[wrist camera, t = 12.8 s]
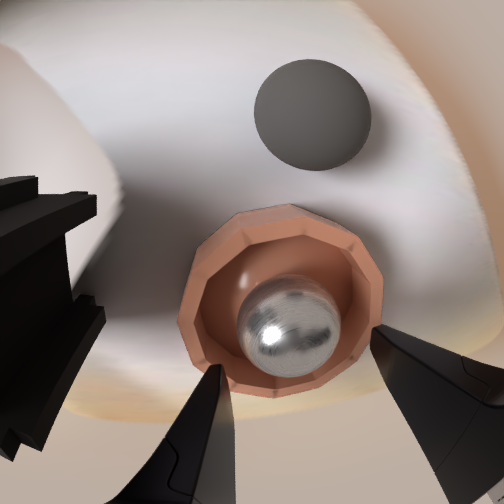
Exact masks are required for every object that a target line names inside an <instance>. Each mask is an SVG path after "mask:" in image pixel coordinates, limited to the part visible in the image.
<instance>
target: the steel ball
mask: <svg viewBox="0 0 504 504" xmlns="http://www.w3.org/2000/svg"><path fill="white" fill-rule="evenodd" d="M236 331H237V337H238V341H239V344H240V347H241V349H242V351H243V352H244V354H245V356H246V357H247V358H248V359H249V361H250V362H251V363H252V364H253V365H255V366H256V367H257V368H259V369H260V370H262V371H264V372H266V373H268V374H270V375H273V376H278V377H286V378H291V377H298V376H302V375H306V374H308V373H311V372H313V371H315V370H316V369H318V368H319V367H321V366H322V365H323V364H324V363H325V362H326V361H327V360H328V359H329V358H330V356H331V355H332V354H333V352H334V350H335V349H336V346H337V344H338V341H339V338H340V334H341V316H340V312H339V308H338V306H337V303H336V301H335V300H334V298H333V296H332V295H331V293H330V292H329V291H328V290H327V289H326V288H325V287H324V286H323V285H321V284H320V283H318V282H317V281H315V280H313V279H311V278H309V277H306V276H302V275H298V274H282V275H277V276H273V277H271V278H268V279H266V280H264V281H262V282H261V283H259V284H258V285H256V286H255V287H254V288H253V289H252V290H251V291H250V292H249V293H248V294H247V296H246V297H245V299H244V300H243V302H242V304H241V306H240V309H239V312H238V316H237V325H236Z"/></svg>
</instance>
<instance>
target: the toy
mask: <svg viewBox="0 0 504 504" xmlns="http://www.w3.org/2000/svg"><path fill="white" fill-rule="evenodd" d="M96 215H97V195H88V192H85V191H84V192H82V191H74V192H69V193H66V194H38V177H35V176H18V177H8V178H4V179H0V455H1V456H2V457H4V458H6V459H8V460H10V461H12V462H13V460H14V458H15V455H16V453H17V451H18V449H19V446H20V444H21V443H22V444H25V445H27V446H29V447H31V448H34V449H36V450H38V451H41V452H42V450H43V447H44V445H45V443H46V440H47V438H48V435H49V433H50V430H51V428H52V426H53V424H54V421H55V419H56V417H57V415H58V413H59V410H60V408H61V406H62V404H63V402H64V400H65V398H66V396H67V394H68V392H69V390H70V388H71V386H72V384H73V382H74V380H75V378H76V376H77V374H78V372H79V370H80V368H81V366H82V364H83V362H84V360H85V359H86V357H87V355H88V353H89V351H90V349H91V347H92V346H93V344H94V342H95V340H96V339H97V337H98V335H99V333H100V332H101V330H102V328H103V326H104V325H105V323H106V318H105V312H104V307H103V306H96V304H95V297H94V296H90V295H82V294H80V295H79V296H78V297H77V298H76V300H75V301H74V302H73V297H72V291H71V285H70V278H69V270H68V262H67V253H66V241H65V233H66V232H68V231H70V230H71V229H73V228H75V227H77V226H78V225H80V224H82V223H84V222H85V221H87V220H89V219H91V218H93V217H94V216H96Z"/></svg>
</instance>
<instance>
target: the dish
mask: <svg viewBox="0 0 504 504" xmlns="http://www.w3.org/2000/svg"><path fill="white" fill-rule="evenodd" d="M282 274H298V275H302V276H306V277H309V278H311V279H313V280H315V281H317V282H318V283H320V284H321V285H323V286H324V287H325V288H326V289H327V290H328V291H329V292H330V293H331V295H332V296H333V298H334V300H335V301H336V303H337V306H338V308H339V312H340V316H341V334H340V338H339V341H338V344H337V346H336V349H335V350H334V352H333V354H332V355H331V356H330V358H329V359H328V360H327V361H326V362H325V363H324V364H323V365H322V366H321V367H319V368H318V369H316V370H315V371H313V372H311V373H308V374H306V375H302V376H298V377H291V378H286V377H278V376H273V375H270V374H268V373H266V372H264V371H262V370H260V369H259V368H257V367H256V366H255V365H253V364H252V363H251V362H250V361H249V359H248V358H247V357H246V356H245V354H244V352H243V351H242V349H241V347H240V344H239V341H238V337H237V331H236V325H237V316H238V312H239V309H240V306H241V304H242V302H243V300H244V299H245V297H246V296H247V294H248V293H249V292H250V291H251V290H252V289H253V288H254V287H255V286H256V285H258V284H259V283H261V282H262V281H264V280H266V279H268V278H271V277H273V276H277V275H282ZM383 281H384V277H383V276H382V274H381V272H380V270H379V269H378V267H377V265H376V264H375V262H374V261H373V259H372V257H371V256H370V254H369V252H368V251H367V249H366V248H365V246H364V244H363V243H362V241H361V240H360V238H359V237H358V236H356V235H355V234H353V233H352V232H350V231H349V230H347V229H345V228H344V227H342V226H341V225H339V224H337V223H336V222H334V221H332V220H330V219H327V218H325V217H322V216H320V215H317V214H314V213H312V212H309V211H307V210H304V209H302V208H299V207H296V206H294V205H291V204H285V205H279V206H274V207H268V208H263V209H257V210H252V211H247V212H241V213H237V214H236V215H234V216H233V217H232V218H231V219H230V220H229V221H227V222H226V223H225V224H224V225H223V226H222V227H220V228H219V229H218V230H217V231H216V232H215V233H213V234H212V235H211V236H210V237H209V238H208V239H206V240H205V241H204V242H203V243H202V244H201V245H200V246H198V247H197V250H196V253H195V257H194V260H193V263H192V266H191V269H190V273H189V276H188V279H187V283H186V286H185V289H184V293H183V297H182V301H181V306H180V310H179V315H178V319H177V324H178V327H179V329H180V332H181V335H182V338H183V340H184V343H185V346H186V348H187V351H188V354H189V356H190V359H191V361H192V364H193V365H194V366H195V367H196V368H198V369H199V370H200V371H202V372H203V373H205V372H206V370H207V369H208V367H209V366H210V365H213V364H219V363H221V364H222V365H223V367H224V370H225V373H226V376H227V379H228V383H229V389H230V391H231V392H236V393H242V394H248V395H254V396H261V397H267V398H278V397H283V396H287V395H291V394H296V393H300V392H304V391H308V390H312V389H315V388H319V387H321V386H322V385H324V384H325V383H327V382H328V381H330V380H331V379H333V378H334V377H335V376H337V375H338V374H340V373H341V372H343V371H344V370H345V369H347V368H348V367H350V366H351V365H352V364H354V363H355V362H356V361H357V360H358V359H359V357H360V356H361V354H362V353H363V351H364V350H365V348H366V346H367V345H368V343H369V341H370V339H371V330H372V328H373V327H375V326H378V325H380V323H381V316H382V302H383Z"/></svg>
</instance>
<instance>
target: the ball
mask: <svg viewBox="0 0 504 504" xmlns="http://www.w3.org/2000/svg"><path fill="white" fill-rule="evenodd" d="M254 118H255V124H256V128H257V131H258V133H259V136H260V138H261V139H262V141H263V143H264V144H265V146H266V147H267V148H268V149H269V150H270V152H271V153H272V154H273V155H275V156H276V157H277V158H278V159H280V160H281V161H283V162H285V163H287V164H289V165H291V166H293V167H296V168H299V169H303V170H310V171H321V170H328V169H332V168H335V167H338V166H340V165H342V164H344V163H346V162H348V161H349V160H350V159H352V158H353V157H354V156H355V155H356V154H357V153H358V152H359V151H360V149H361V148H362V147H363V145H364V143H365V142H366V139H367V137H368V134H369V130H370V126H371V110H370V105H369V101H368V99H367V96H366V94H365V92H364V90H363V89H362V87H361V85H360V84H359V83H358V82H357V80H356V79H355V78H354V77H353V76H352V75H351V74H349V73H348V72H347V71H345V70H344V69H342V68H340V67H339V66H336V65H334V64H332V63H329V62H326V61H321V60H312V59H306V60H298V61H294V62H291V63H288V64H286V65H283V66H281V67H280V68H278V69H277V70H275V71H274V72H273V73H272V74H271V75H270V76H269V77H268V78H267V79H266V80H265V81H264V83H263V84H262V85H261V87H260V89H259V91H258V94H257V97H256V101H255V106H254Z"/></svg>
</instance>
